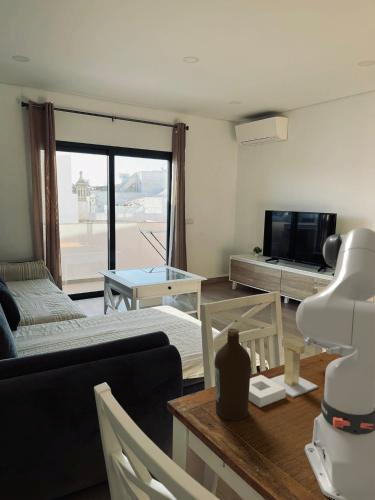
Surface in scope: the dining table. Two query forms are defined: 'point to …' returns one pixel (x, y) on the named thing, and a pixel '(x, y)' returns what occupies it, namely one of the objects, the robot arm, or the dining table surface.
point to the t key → (292, 361)
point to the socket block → (265, 391)
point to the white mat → (297, 389)
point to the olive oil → (232, 378)
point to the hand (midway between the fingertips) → (316, 346)
